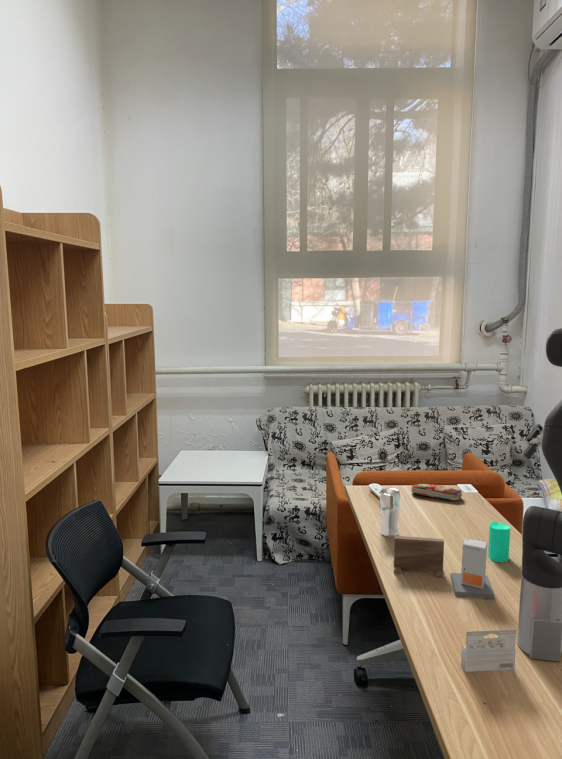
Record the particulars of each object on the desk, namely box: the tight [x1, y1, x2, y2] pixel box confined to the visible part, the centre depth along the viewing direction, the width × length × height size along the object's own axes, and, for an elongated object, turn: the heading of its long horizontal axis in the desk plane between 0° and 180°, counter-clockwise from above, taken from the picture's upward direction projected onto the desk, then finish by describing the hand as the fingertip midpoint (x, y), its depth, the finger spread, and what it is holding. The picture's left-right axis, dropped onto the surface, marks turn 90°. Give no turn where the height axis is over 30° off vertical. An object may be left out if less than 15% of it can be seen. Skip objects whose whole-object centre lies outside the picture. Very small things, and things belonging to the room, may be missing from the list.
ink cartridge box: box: [460, 629, 517, 673], centre depth 113 cm, size 2×11×10 cm, turn 92°
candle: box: [487, 521, 511, 563], centre depth 161 cm, size 6×6×12 cm
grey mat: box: [450, 572, 495, 600], centre depth 146 cm, size 10×10×1 cm
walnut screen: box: [393, 535, 445, 578], centre depth 154 cm, size 6×14×10 cm, turn 79°
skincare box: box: [461, 537, 488, 589], centre depth 145 cm, size 6×4×12 cm
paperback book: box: [411, 483, 463, 501], centre depth 212 cm, size 11×20×5 cm, turn 49°
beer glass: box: [379, 487, 401, 538], centre depth 179 cm, size 7×7×15 cm
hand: (539, 461), depth 139 cm, fingers open, 8 cm apart
